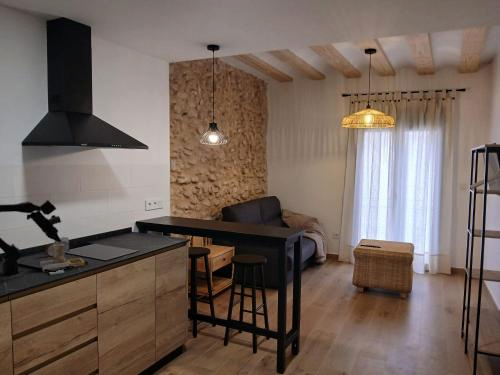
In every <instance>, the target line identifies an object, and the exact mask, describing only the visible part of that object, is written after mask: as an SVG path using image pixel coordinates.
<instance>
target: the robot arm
mask: <svg viewBox="0 0 500 375" xmlns="http://www.w3.org/2000/svg"><path fill="white" fill-rule="evenodd" d="M56 210H57V208H56V206H55V205H54V204H53V203H51V201H50V200H49V199H48V200H46V201H45V202H43V203H42V204H41V205H37V204H34V203H33V202H31V201H24V202H20V203H15V204H14V203H13V204H0V213H8V212H9V213H11V212H15V213H23V214H26V218H25V219H26V220H27V221H28V220H30V219H31V220H32V221H33V223H35V224H36V225H37V226H38V228H40V230H41V232H43V233H44V234H45V236H46V237H47V238H48V239H51V240H52V241H54V242H55V241H57V242H59V243H60V242H61V240H60V238H61V237H59V234H58V233H59V230H58V228H56V227H55V226H54V225H56V224H60V223H62V220H61V217H60V216H59V215H58V216H56V215H54V214H52V213H53V212H54V211H56ZM50 214H52V215H51V217H50V218H47V217H45V216H49V215H50ZM0 249H1V250H2V251H3V253H4V254H5V256H4V257H3V258H2V260H3V262H4V263H2V273H0V275H3V276H5V277H6V276H7V277H10V276H14V275H17V274H20V271H19V264H18V260H20V258H21V252H20V249H19V247H17V246H16V245H15V244H14V243H12V244H9V243H7V242H6V241H5V240H4V239H3V238H2V237H0Z"/></svg>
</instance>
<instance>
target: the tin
mask: <svg viewBox="0 0 500 375" xmlns="http://www.w3.org/2000/svg"><path fill="white" fill-rule="evenodd" d="M54 244H63V245H64V255H65V254H67V253H68V252H69V251H70V249H71V248H70V247H71V246H70V244H68V243H67V242H65V241H61V242H60V243H59V242H55V241H54V242H51V243H48V244H47V245H46V246H45V248H44V253H45V254H46V255H47V256H49V257H53V245H54Z"/></svg>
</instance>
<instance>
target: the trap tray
mask: <svg viewBox="0 0 500 375" xmlns="http://www.w3.org/2000/svg"><path fill="white" fill-rule="evenodd" d="M74 261H80V262H78V263H71V262H74ZM66 262H69V265H70V266H73V267H72V268H75V267H76V268H77V267H82V266H86V265H85V264H86V263H85V261H84V260H83V259H82V258H81V257H78V258H70V259H66Z"/></svg>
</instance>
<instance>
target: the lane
mask: <svg viewBox="0 0 500 375" xmlns="http://www.w3.org/2000/svg"><path fill="white" fill-rule="evenodd" d="M39 263H40V264H39V265H40V266H39V267H41V266H43V267H42V272H45V271H44V270H45V269H51V268H58V267H65V266H69V262H67V258H65V257H64V263H59V264H54V263H53V259H52V260H45V261H44V260H43V261H40V262H39ZM44 265H45V266H44Z"/></svg>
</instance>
